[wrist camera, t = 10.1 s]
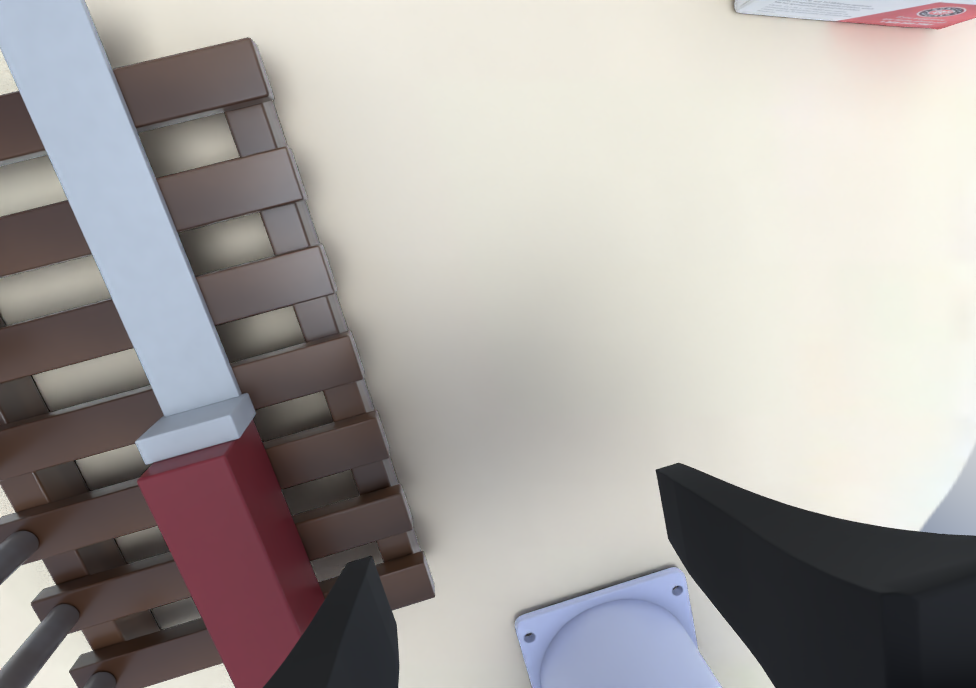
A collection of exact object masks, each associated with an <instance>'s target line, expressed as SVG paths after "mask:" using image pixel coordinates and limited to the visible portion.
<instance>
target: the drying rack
mask: <svg viewBox="0 0 976 688" xmlns="http://www.w3.org/2000/svg"><path fill="white" fill-rule="evenodd" d="M112 70H113V72H114V75H115V77H116V80H117V82H118V85H119V87H120V90H121V92H122V95H123V98H124V100H125V103H126V105H127V108H128V110H129V113H130V115H131V118H132V120H133V123H134V125H135V128H136V130H137V133H140V132H144V131H148V130H153V129H157V128H161V127H165V126H169V125H173V124H177V123H182V122H186V121H190V120H194V119H198V118H202V117H206V116H210V115H215V114H219V113H223V112H224V114H225V117H226V119H227V122H228V125H229V128H230V131H231V134H232V136H233V139H234V142H235V145H236V148H237V150H238V153H239V156H240V158H236V159H232V160H227V161H223V162H219V163H215V164H211V165H207V166H203V167H199V168H195V169H191V170H187V171H183V172H179V173H175V174H171V175H167V176H163V177H159V178H156V180H157V183H158V185H159V188H160V190H161V193H162V195H163V198H164V200H165V203H166V205H167V208H168V210H169V213H170V215H171V218H172V220H173V223H174V225H175V228H176V230H177V233H179V232H183V231H187V230H191V229H195V228H199V227H203V226H207V225H211V224H215V223H219V222H222V221H226V220H230V219H234V218H238V217H242V216H246V215H250V214H254V213H258V212H259V213H260V215H261V218H262V221H263V224H264V227H265V229H266V232H267V235H268V238H269V241H270V244H271V246H272V249H273V252H274V255H275V256H271V257H267V258H263V259H259V260H256V261H252V262H248V263H244V264H240V265H236V266H233V267H229V268H225V269H221V270H217V271H213V272H210V273H206V274H202V275H198V276H195V278H196V280H197V283H198V285H199V288H200V290H201V293H202V295H203V298H204V300H205V303H206V305H207V308H208V310H209V313H210V315H211V318H212V320H213V323H214V325H215V326H217V325H221V324H225V323H228V322H232V321H236V320H240V319H243V318H247V317H251V316H254V315H258V314H262V313H266V312H269V311H273V310H277V309H281V308H284V307H288V306H293V308H294V311H295V314H296V317H297V320H298V322H299V325H300V328H301V331H302V334H303V337H304V339H305V343H302V344H298V345H294V346H291V347H287V348H284V349H280V350H276V351H273V352H269V353H265V354H262V355H258V356H254V357H251V358H247V359H243V360H240V361H236V362H232V363H230V365H231V368H232V370H233V373H234V375H235V378H236V380H237V383H238V385H239V388H240V390H241V394H244V393H248V394H249V397H250V399H251V402H252V404H253V407H254V409H255V410H257V409H260V408H264V407H267V406H271V405H274V404H278V403H282V402H285V401H289V400H292V399H296V398H299V397H303V396H306V395H310V394H314V393H317V392H321V391H323V393H324V396H325V399H326V401H327V404H328V407H329V410H330V413H331V416H332V418H333V421H334V422H332V423H329V424H325V425H322V426H318V427H315V428H311V429H308V430H304V431H301V432H297V433H294V434H290V435H287V436H283V437H280V438H276V439H273V440H269V441H266V442H262V443H263V445H264V448H265V450H266V453H267V455H268V458H269V460H270V463H271V465H272V468H273V471H274V473H275V476H276V478H277V481H278V483H279V486H280V488H281V489H285V488H288V487H292V486H295V485H299V484H302V483H306V482H309V481H312V480H316V479H319V478H323V477H326V476H330V475H333V474H336V473H340V472H343V471H347V470H350V469H351V472H352V475H353V478H354V480H355V483H356V486H357V489H358V492H359V494H360V496H357V497H353V498H350V499H346V500H343V501H340V502H336V503H333V504H330V505H326V506H323V507H319V508H316V509H313V510H309V511H306V512H302V513H299V514H296V515H292V518H293V521H294V523H295V526H296V528H297V531H298V533H299V536H300V538H301V541H302V543H303V546H304V548H305V551H306V553H307V556H308V558H309V561H312V560H315V559H318V558H322V557H325V556H328V555H332V554H335V553H338V552H342V551H345V550H348V549H352V548H355V547H358V546H362V545H365V544H368V543H372V542H375V541H376V542H377V545H378V548H379V551H380V554H381V557H382V559H383V562H384V563H380V564H377V565H375V566H376V569H377V571H378V574H379V577H380V580H381V582H382V585H383V588H384V591H385V593H386V596H387V599H388V602H389V605H390V607H391V610H395V609H398V608H402V607H405V606H408V605H411V604H415V603H418V602H421V601H424V600H427V599H431V598H434V597H435V586H434V581H433V578H432V575H431V572H430V569H429V566H428V563H427V560H426V557H425V554H424V551H421V549H420V546H419V543H418V540H417V537H416V534H415V530H414V527H413V518H412V515H411V512H410V508H409V505H408V502H407V499H406V496H405V493H404V490H403V487H402V485H401V484H399V482H398V479H397V476H396V473H395V470H394V467H393V464H392V461H391V458H390V455H389V453H390V447H389V444H388V441H387V438H386V435H385V432H384V429H383V426H382V423H381V420H380V417H379V414H378V411H377V410H375V409H374V406H373V403H372V400H371V397H370V394H369V391H368V388H367V385H366V382H365V379H364V373H365V371H364V368H363V365H362V362H361V359H360V356H359V353H358V350H357V347H356V344H355V341H354V338H353V335H352V332H351V331H349V330H348V327H347V324H346V321H345V318H344V315H343V312H342V309H341V306H340V303H339V300H338V297H337V294H336V291H337V286H336V283H335V280H334V277H333V274H332V271H331V268H330V264H329V261H328V258H327V255H326V252H325V249H324V246H323V244H321V243H320V242H319V239H318V236H317V233H316V230H315V227H314V224H313V221H312V218H311V215H310V212H309V209H308V206H307V203H306V200H307V195H306V192H305V189H304V185H303V182H302V179H301V176H300V173H299V170H298V167H297V164H296V161H295V158H294V155H293V152H292V150H291V148H288V145H287V142H286V139H285V136H284V133H283V130H282V127H281V124H280V121H279V118H278V115H277V112H276V109H275V106H274V103H273V100H274V94H273V91H272V88H271V85H270V82H269V79H268V76H267V73H266V70H265V67H264V64H263V61H262V58H261V55H260V52H259V49H258V46H257V44H256V43H255V42H254V41H253V40H252V39H251V38H248V37H247V38H243V39H239V40H235V41H230V42H226V43H222V44H217V45H213V46H209V47H205V48H200V49H196V50H192V51H188V52H183V53H179V54H175V55H170V56H166V57H162V58H158V59H153V60H149V61H145V62H140V63H136V64H132V65H128V66H123V67H119V68H115V69H112ZM45 155H48V154H47V152H46V150H45V147H44V145H43V143H42V141H41V139H40V136H39V134H38V132H37V130H36V127H35V125H34V123H33V121H32V118H31V116H30V114H29V112H28V109H27V107H26V105H25V103H24V101H23V98H22V96H21V94H20V92H19V91H16V92H12V93H8V94H3V95H0V166H4V165H8V164H12V163H16V162H20V161H25V160H29V159H33V158H37V157H41V156H45ZM90 255H92V253H91V250H90V248H89V246H88V244H87V241H86V239H85V237H84V235H83V233H82V230H81V228H80V226H79V224H78V221H77V219H76V217H75V215H74V212H73V210H72V208H71V206H70V203H69V201H68V200H66V201H62V202H58V203H54V204H50V205H46V206H42V207H38V208H34V209H30V210H26V211H22V212H18V213H14V214H10V215H6V216H2V217H0V278H3V277H7V276H11V275H15V274H19V273H23V272H27V271H31V270H35V269H39V268H43V267H46V266H50V265H54V264H58V263H62V262H66V261H70V260H74V259H78V258H82V257H86V256H90ZM132 348H134V347H133V344H132V342H131V340H130V338H129V335H128V333H127V331H126V329H125V327H124V324H123V322H122V320H121V318H120V315H119V313H118V311H117V309H116V306H115V304H114V302H113V300H112V298H110V299H106V300H103V301H99V302H95V303H91V304H87V305H83V306H80V307H76V308H72V309H68V310H64V311H61V312H57V313H53V314H49V315H45V316H41V317H38V318H34V319H30V320H26V321H22V322H19V323H15V324H11V325H7V326H5V324H4V322H3V320H2V318H1V316H0V485H1V487H2V489H3V490H4V492H5V494H6V496H7V498H8V499H9V501H10V503H11V505H12V507H13V508H14V510H15V512H16V513H13V514H9V515H6V516H2V517H1V518H0V585H1V584H2V583H3V582H4V581H5V580H6V579H7V578H8V577H9V576H10V575H11V574H12V573H13V572H14V571H15V570H17V569H18V568H19V567H20V566H21V565H24V564H27V563H31V562H34V561H38V560H41V559H42V560H43V562H44V564H45V566H46V567H47V569H48V571H49V573H50V575H51V576H52V578H53V580H54V582H55V584H56V585H55V586H51V587H48V588H45V589H43V590H42V591H41V592H40V593H39V594H38V595H37V596H36V598H35V599H34V600H33V601H32V602H31V606H32V608H33V609H34V611H35V613H36V614H37V616H38V618H39V620H40V621H41V623H40V624H39V625H38V627H37V628H36V629H35V630H34V631H33V632H32V634H31V635H30V636H29V637H28V638H27V639H26V641H25V642H24V643H23V644H22V645H21V646H20V648H19V649H18V650H17V651H16V652H15V653H14V655H13V656H12V657H11V658H10V659H9V661H8V662H7V663H6V664H5V665H4V666H3V668H2V669H1V670H0V688H27V686H28V685H29V684H30V682H31V681H32V680H33V678H34V677H35V676H36V675H37V673H38V672H39V671H40V669H41V668H42V667H43V666H44V664H45V663H46V662H47V660H48V659H49V658H50V656H51V655H52V654H53V653H54V651H55V650H56V649H57V647H58V646H59V645H60V643H61V642H62V641H63V640H64V638H65V637H66V636H67V634H69V633H73V632H76V631H79V630H82V632H83V634H84V636H85V637H86V639H87V641H88V643H89V645H90V646H91V648H92V650H93V651H91V652H88V653H85V654H82V655H80V656H79V658H78V659H77V661H76V662H75V664H74V665H73V666H72V668H71V669H70V671H69V673H70V674H71V676H72V678H73V680H74V681H75V683H76V685H77V686H78V688H144V687H147V686H151V685H154V684H157V683H160V682H163V681H167V680H170V679H173V678H176V677H180V676H183V675H186V674H189V673H192V672H196V671H199V670H202V669H205V668H208V667H212V666H215V665H218V664H221V663H223V661H222V659H221V657H220V655H219V653H218V651H217V649H216V647H215V644H214V642H213V640H212V638H211V636H210V634H209V632H208V630H207V628H206V626H205V624H204V622H203V619H202V618H200V619H196V620H193V621H190V622H186V623H183V624H180V625H177V626H173V627H170V628H167V629H163V630H160V629H159V627H158V625H157V623H156V621H155V619H154V617H153V615H152V613H151V611H150V609H152V608H156V607H159V606H162V605H166V604H169V603H172V602H176V601H179V600H182V599H186V598H189V597H192V596H191V594H190V592H189V590H188V588H187V586H186V584H185V582H184V580H183V578H182V576H181V574H180V571H179V569H178V567H177V565H176V563H175V561H174V559H173V557H172V555H171V553H170V552H167V553H163V554H160V555H157V556H153V557H150V558H146V559H143V560H140V561H136V562H133V563H129V564H126V562H125V560H124V558H123V556H122V554H121V552H120V550H119V548H118V546H117V544H116V542H115V540H114V538H117V537H120V536H124V535H127V534H130V533H134V532H137V531H141V530H144V529H148V528H151V527H154V526H157V523H156V521H155V519H154V517H153V515H152V513H151V511H150V509H149V507H148V505H147V503H146V501H145V498H144V496H143V494H142V492H141V490H140V488H139V486H138V484H137V480H138V478H136V479H132V480H129V481H125V482H122V483H118V484H115V485H111V486H107V487H104V488H100V489H97V490H93V491H89V489H88V487H87V485H86V483H85V481H84V479H83V477H82V475H81V473H80V471H79V470H78V468H77V466H76V464H75V462H74V461H75V460H78V459H82V458H85V457H89V456H92V455H96V454H100V453H103V452H107V451H110V450H114V449H117V448H121V447H125V446H128V445H132V444H135V441H136V440H137V439H138V438H139V437H140V436H142V435H143V434H144V433H145V432H146V431H147V430H148V429H149V428H150V427H151V426H153V425H154V424H155V423H156V422H157V421H158V420H159V419H160V418H161V417H163V416H164V414H163V412H162V409H161V407H160V405H159V403H158V400H157V398H156V396H155V394H154V391H153V389H152V387H151V385H148V386H145V387H141V388H137V389H134V390H130V391H126V392H123V393H119V394H115V395H112V396H108V397H104V398H101V399H97V400H93V401H90V402H86V403H82V404H79V405H75V406H72V407H68V408H64V409H61V410H57V411H53V412H50V413H49V411H48V409H47V407H46V405H45V403H44V401H43V399H42V397H41V395H40V393H39V391H38V389H37V387H36V385H35V383H34V381H33V379H32V377H31V375H35V374H38V373H42V372H46V371H50V370H53V369H57V368H61V367H65V366H68V365H72V364H76V363H79V362H83V361H87V360H91V359H94V358H98V357H102V356H105V355H109V354H113V353H117V352H120V351H124V350H128V349H132ZM338 577H339V576H338ZM338 577H334V578H331V579H328V580H324V581H321V582H318V583H319V586H320V588H321V591H322V593H323V596H324V598H325V599H326V597H327V595H328V594H329V592H330V590H331V589H332V587H333V585H334V584H335V582H336V580H337V579H338Z"/></svg>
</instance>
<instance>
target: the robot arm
mask: <svg viewBox="0 0 976 688" xmlns="http://www.w3.org/2000/svg"><path fill="white" fill-rule="evenodd" d="M656 474H657V479H658V485H659V490H660V496H661V501H662V507H663V512H664V518H665V523H666V529H667V534H668V539H669V541H670V543H671V544H672V546H673V548H674V550H675V551H676V553H677V555H678V556H679V558H680V560H681V561H682V563H683V564H684V566H685V568H686V569H687V571H688V573H689V574H690V575H691V577H692V578H693V579H694V581H695V582H696V583H697V584H698V586H699V587H700V588H701V589H702V591H703V592H704V593H705V595H706V596H707V597H708V598H709V600H710V601H711V602H712V603H713V605H714V606H715V607H716V608H717V610H718V611H719V612H720V613H721V615H722V616H723V617H724V618H725V620H726V621H727V622H728V623H729V625H730V626H731V627H732V628H733V630H734V631H735V632H736V633H737V635H738V636H739V637H740V638H741V640H742V641H743V642H744V643H745V645H746V646H747V647H748V648H749V650H750V651H751V653H752V654H753V655H754V657H755V658H756V659H757V661H758V662H759V663H760V665H761V666H762V668H763V669H764V671H765V672H766V674H767V675H768V677H769V678H770V680H771V682H772V683H773V685H774V686H775V688H976V536H969V535H967V536H966V535H948V534H937V533H928V532H918V531H909V530H901V529H894V528H887V527H881V526H875V525H870V524H864V523H859V522H853V521H848V520H844V519H839V518H835V517H831V516H827V515H823V514H819V513H815V512H811V511H807V510H804V509H800V508H797V507H794V506H790V505H787V504H784V503H781V502H778V501H775V500H772V499H769V498H766V497H764V496H761V495H758V494H755V493H753V492H750V491H748V490H745V489H742V488H740V487H737V486H735V485H732V484H730V483H727V482H725V481H723V480H720V479H718V478H715V477H713V476H711V475H708V474H706V473H704V472H701V471H699V470H697V469H694V468H692V467H689V466H687V465H684V464H681V463H676V464H673V465H670V466H666V467H663V468H660V469H657V470H656ZM675 586H678V587H677V588H676V589H674V590H672V589H673V588H674V587H675ZM515 629H516V633H517V637H518V640H519V643H520V647H521V650H522V654H523V657H524V661H525V664H526V668H527V671H528V675H529V678H530V682H531V685H532V688H722V686H721V685H720V683H719V682H718V680H717V679H716V677H715V675H714V674H713V672H712V671H711V669H710V668H709V666H708V665H707V663H706V661H705V660H704V658H703V657H702V655H701V654H700V652H699V651H698V645H697V639H696V634H695V628H694V622H693V617H692V611H691V605H690V600H689V594H688V588H687V583H686V577H685V575H684V573H683V572H682V571H681V570H680V569H679V568H676V567H672V568H668V569H665V570H662V571H659V572H655V573H652V574H649V575H646V576H643V577H640V578H636V579H633V580H630V581H627V582H624V583H621V584H617V585H614V586H611V587H608V588H605V589H602V590H598V591H595V592H592V593H589V594H586V595H583V596H580V597H576V598H573V599H570V600H567V601H564V602H561V603H557V604H554V605H551V606H548V607H545V608H542V609H538V610H535V611H532V612H529V613H526V614H523V615H521V616H519V617H518V618H517V619H516V621H515ZM528 633H532V635H530V636H525V635H526V634H528ZM398 682H399V652H398V637H397V624H396V621H395V618H394V616H393V613H392V610H391V607H390V605H389V602H388V599H387V596H386V593H385V591H384V588H383V585H382V582H381V580H380V577H379V574H378V571H377V569H376V566H375V563H374V560H373V557H372V556H369V557H366V558H363V559H359V560H356V561H353V562H350V563H347V564H346V566H345V567H344V569H343V570H342V572H341V574H340V575H339V577H338V579H337V580H336V582H335V584H334V585H333V587H332V589H331V590H330V592H329V594H328V595H327V597H326V599H325V600H324V602H323V604H322V605H321V607H320V608H319V610H318V612H317V613H316V615H315V616H314V618H313V619H312V621H311V623H310V624H309V626H308V627H307V629H306V630H305V632H304V633H303V635H302V636H301V637H300V639H299V640H298V642H297V643H296V645H295V646H294V647H293V649H292V650H291V652H290V653H289V655H288V656H287V657H286V659H285V660H284V662H283V663H282V664H281V666H280V667H279V668H278V669H277V671H276V672H275V673H274V675H273V676H272V677H271V678H270V680H269V681H268V682H267V683H266V684H265V686H264V687H263V688H398Z"/></svg>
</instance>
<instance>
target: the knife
mask: <svg viewBox="0 0 976 688" xmlns="http://www.w3.org/2000/svg"><path fill="white" fill-rule="evenodd" d="M0 49H1V51H2V54H3V56H4V58H5V60H6V62H7V65H8V67H9V69H10V71H11V74H12V76H13V78H14V80H15V83H16V85H17V87H18V89H19V92H20V94H21V96H22V98H23V101H24V103H25V105H26V107H27V109H28V112H29V114H30V116H31V118H32V121H33V123H34V125H35V127H36V130H37V132H38V134H39V136H40V139H41V141H42V143H43V145H44V147H45V150H46V152H47V154H48V156H49V159H50V161H51V163H52V165H53V168H54V170H55V172H56V174H57V177H58V179H59V181H60V183H61V186H62V188H63V190H64V192H65V194H66V197H67V199H68V201H69V203H70V206H71V208H72V210H73V212H74V215H75V217H76V219H77V221H78V224H79V226H80V228H81V230H82V233H83V235H84V237H85V239H86V241H87V244H88V246H89V248H90V250H91V253H92V255H93V257H94V259H95V262H96V264H97V266H98V268H99V271H100V273H101V275H102V277H103V280H104V282H105V284H106V286H107V288H108V291H109V293H110V295H111V297H112V300H113V302H114V304H115V306H116V309H117V311H118V313H119V315H120V318H121V320H122V322H123V324H124V327H125V329H126V331H127V333H128V335H129V338H130V340H131V342H132V344H133V347H134V349H135V351H136V353H137V356H138V358H139V360H140V362H141V365H142V367H143V369H144V371H145V374H146V376H147V378H148V380H149V382H150V385H151V387H152V389H153V391H154V394H155V396H156V398H157V400H158V403H159V405H160V407H161V409H162V412H163V414H164V416H163V417H161V418H160V419H159V420H158V421H157V422H156V423H155V424H154V425H153V426H151V427H150V428H149V429H148V430H147V431H146V432H145V433H144V434H143V435H142V436H140V437H139V438H138V439H137V440H136V441H135V444H136V446H137V448H138V450H139V452H140V454H141V456H142V459H143V461H144V463H145V464H146V465H147V464H151V463H153V464H152V465H151V466H150V467H149V468H148V469H147V470H146V471H145V472H144V473H143V474H142V475H141V476H140V477H139V478H138V480H137V484H138V486H139V488H140V490H141V492H142V494H143V496H144V498H145V501H146V503H147V505H148V507H149V509H150V511H151V513H152V515H153V517H154V519H155V521H156V523H157V526H158V528H159V530H160V532H161V534H162V536H163V538H164V540H165V542H166V544H167V546H168V549H169V551H170V553H171V555H172V557H173V559H174V561H175V563H176V565H177V567H178V569H179V571H180V574H181V576H182V578H183V580H184V582H185V584H186V586H187V588H188V590H189V592H190V594H191V596H192V599H193V601H194V603H195V605H196V607H197V609H198V611H199V613H200V615H201V617H202V619H203V622H204V624H205V626H206V628H207V630H208V632H209V634H210V636H211V638H212V640H213V642H214V644H215V647H216V649H217V651H218V653H219V655H220V657H221V659H222V661H223V663H224V665H225V667H226V669H227V672H228V674H229V676H230V678H231V680H232V682H233V684H234V686H235V688H263V687H264V686H265V684H266V683H267V682H268V681H269V680H270V678H271V677H272V676H273V675H274V673H275V672H276V671H277V669H278V668H279V667H280V666H281V664H282V663H283V662H284V660H285V659H286V657H287V656H288V655H289V653H290V652H291V650H292V649H293V647H294V646H295V645H296V643H297V642H298V640H299V639H300V637H301V636H302V635H303V633H304V632H305V630H306V629H307V627H308V626H309V624H310V623H311V621H312V619H313V618H314V616H315V615H316V613H317V612H318V610H319V608H320V607H321V605H322V604H323V602H324V600H325V598H324V596H323V593H322V591H321V588H320V586H319V583H318V581H317V578H316V576H315V573H314V571H313V568H312V566H311V563H310V561H309V558H308V556H307V553H306V551H305V548H304V546H303V543H302V541H301V538H300V536H299V533H298V531H297V528H296V526H295V523H294V521H293V518H292V516H291V513H290V511H289V508H288V506H287V503H286V501H285V498H284V496H283V493H282V491H281V488H280V486H279V483H278V481H277V478H276V476H275V473H274V471H273V468H272V465H271V463H270V460H269V458H268V455H267V453H266V450H265V448H264V445H263V443H262V440H261V438H260V435H259V433H258V430H257V428H256V425H255V423H254V420H253V418H254V416H255V415H256V412H255V409H254V407H253V404H252V402H251V399H250V397H249V394H248V393H244V394H241V390H240V388H239V385H238V383H237V380H236V378H235V375H234V373H233V370H232V368H231V365H230V363H229V360H228V358H227V355H226V353H225V350H224V348H223V345H222V343H221V340H220V338H219V335H218V333H217V330H216V328H215V325H214V323H213V320H212V318H211V315H210V313H209V310H208V308H207V305H206V303H205V300H204V298H203V295H202V293H201V290H200V288H199V285H198V283H197V280H196V278H195V275H194V273H193V270H192V268H191V265H190V263H189V260H188V258H187V255H186V253H185V250H184V248H183V245H182V243H181V240H180V238H179V235H178V233H177V230H176V228H175V225H174V223H173V220H172V218H171V215H170V213H169V210H168V208H167V205H166V203H165V200H164V198H163V195H162V193H161V190H160V188H159V185H158V183H157V180H156V178H155V175H154V173H153V170H152V168H151V165H150V163H149V160H148V158H147V155H146V153H145V150H144V148H143V145H142V143H141V140H140V138H139V135H138V133H137V130H136V128H135V125H134V123H133V120H132V118H131V115H130V113H129V110H128V108H127V105H126V103H125V100H124V98H123V95H122V92H121V90H120V87H119V85H118V82H117V80H116V77H115V75H114V72H113V70H112V67H111V65H110V62H109V60H108V57H107V55H106V52H105V50H104V47H103V45H102V42H101V40H100V37H99V35H98V32H97V30H96V27H95V25H94V22H93V20H92V17H91V15H90V12H89V10H88V7H87V5H86V2H85V0H0Z"/></svg>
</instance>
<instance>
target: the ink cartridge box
mask: <svg viewBox="0 0 976 688" xmlns="http://www.w3.org/2000/svg"><path fill="white" fill-rule="evenodd" d="M734 7H735V11H736V12H739V13H745V14H757V15H768V16H779V17H791V18H802V19H813V20H826V21H840V22H851V23H865V24H877V25H887V26H900V27H918V28H932V29H942V28H945V27H948V26H951V25H954V24H957V23H960V22H963V21H967V20H970V19H973V18H976V0H735V4H734Z"/></svg>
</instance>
